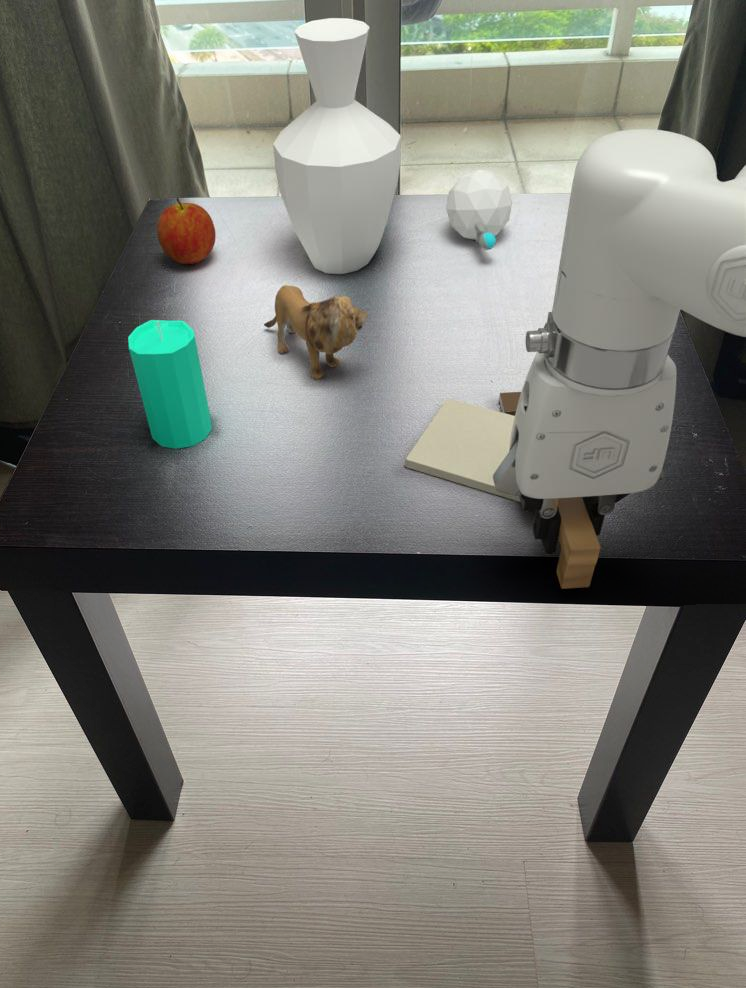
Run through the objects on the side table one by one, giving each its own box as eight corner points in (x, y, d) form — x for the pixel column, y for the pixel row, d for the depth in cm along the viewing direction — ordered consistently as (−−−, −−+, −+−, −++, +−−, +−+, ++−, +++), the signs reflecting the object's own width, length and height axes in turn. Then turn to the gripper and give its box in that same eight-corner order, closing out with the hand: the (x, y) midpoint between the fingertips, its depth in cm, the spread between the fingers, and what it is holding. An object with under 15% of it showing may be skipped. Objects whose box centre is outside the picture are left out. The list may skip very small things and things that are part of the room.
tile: (608, 450, 78) (610, 441, 77) (577, 519, 72) (579, 511, 71) (447, 405, 83) (447, 397, 82) (404, 467, 77) (405, 458, 76)
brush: (608, 587, 65) (620, 546, 62) (543, 591, 65) (551, 551, 61) (563, 462, 75) (572, 421, 71) (507, 466, 75) (513, 425, 71)
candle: (206, 449, 80) (184, 340, 71) (144, 448, 80) (115, 340, 72) (217, 409, 84) (197, 302, 75) (158, 409, 85) (131, 302, 76)
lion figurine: (375, 373, 87) (374, 295, 81) (338, 396, 85) (334, 317, 78) (282, 320, 95) (274, 245, 88) (245, 340, 92) (235, 264, 86)
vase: (318, 222, 111) (304, 3, 93) (418, 242, 106) (424, 15, 88) (263, 273, 102) (235, 43, 84) (369, 297, 97) (364, 59, 79)
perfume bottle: (515, 188, 107) (538, 245, 100) (460, 227, 111) (478, 284, 104) (485, 143, 102) (507, 199, 95) (428, 185, 105) (445, 242, 98)
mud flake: (534, 418, 81) (536, 410, 80) (503, 419, 81) (504, 411, 80) (529, 399, 83) (530, 391, 83) (498, 400, 83) (499, 392, 83)
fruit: (225, 247, 107) (216, 185, 101) (211, 275, 102) (201, 211, 96) (172, 245, 108) (160, 183, 102) (156, 273, 103) (142, 209, 97)
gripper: (493, 386, 51) (471, 582, 65) (754, 369, 51) (678, 568, 65) (473, 319, 57) (456, 513, 70) (710, 303, 57) (649, 501, 70)
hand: (563, 539), depth 67 cm, fingers closed on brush
